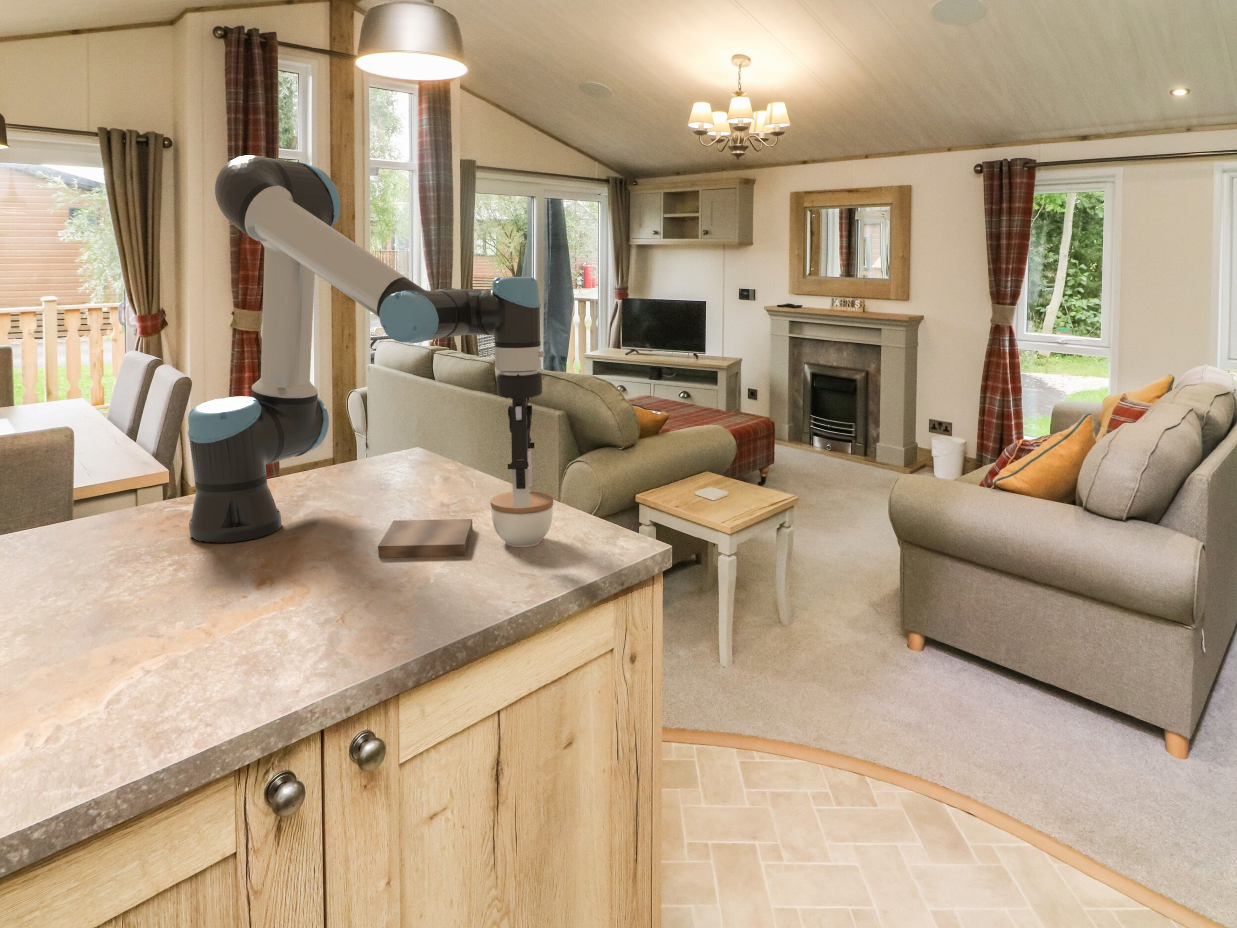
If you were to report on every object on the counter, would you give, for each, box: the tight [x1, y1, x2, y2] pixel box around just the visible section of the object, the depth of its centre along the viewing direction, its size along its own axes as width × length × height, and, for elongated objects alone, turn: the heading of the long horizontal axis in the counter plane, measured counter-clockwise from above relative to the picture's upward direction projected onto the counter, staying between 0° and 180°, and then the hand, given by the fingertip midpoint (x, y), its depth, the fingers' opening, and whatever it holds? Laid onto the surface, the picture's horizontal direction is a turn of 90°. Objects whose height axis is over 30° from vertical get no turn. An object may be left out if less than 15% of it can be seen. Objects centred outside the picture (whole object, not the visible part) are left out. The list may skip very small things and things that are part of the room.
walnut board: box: [377, 518, 474, 559], centre depth 144 cm, size 14×14×2 cm
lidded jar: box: [490, 490, 554, 549], centre depth 144 cm, size 11×11×9 cm
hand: (523, 495), depth 143 cm, fingers open, 13 cm apart
